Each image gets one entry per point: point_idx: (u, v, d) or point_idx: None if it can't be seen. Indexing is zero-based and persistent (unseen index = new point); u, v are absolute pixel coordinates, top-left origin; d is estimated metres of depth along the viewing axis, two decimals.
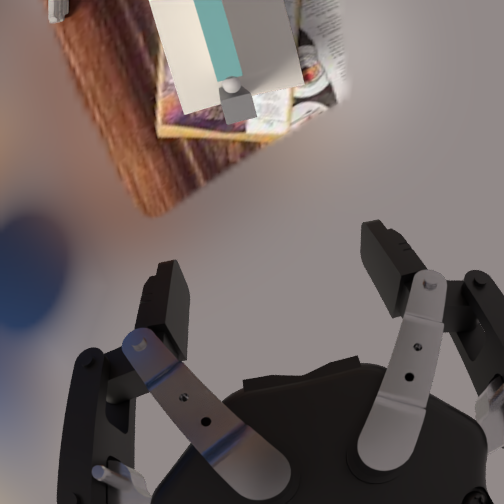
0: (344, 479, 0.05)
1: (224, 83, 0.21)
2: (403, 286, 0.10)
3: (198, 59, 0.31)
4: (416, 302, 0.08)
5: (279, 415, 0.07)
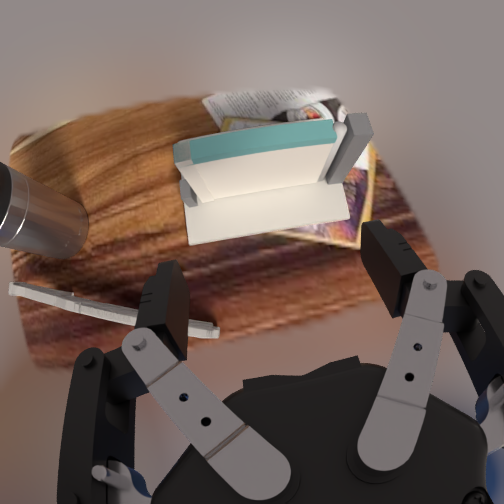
0: (344, 479, 0.05)
1: (338, 132, 0.27)
2: (403, 286, 0.10)
3: (298, 198, 0.40)
4: (416, 302, 0.08)
5: (279, 415, 0.07)
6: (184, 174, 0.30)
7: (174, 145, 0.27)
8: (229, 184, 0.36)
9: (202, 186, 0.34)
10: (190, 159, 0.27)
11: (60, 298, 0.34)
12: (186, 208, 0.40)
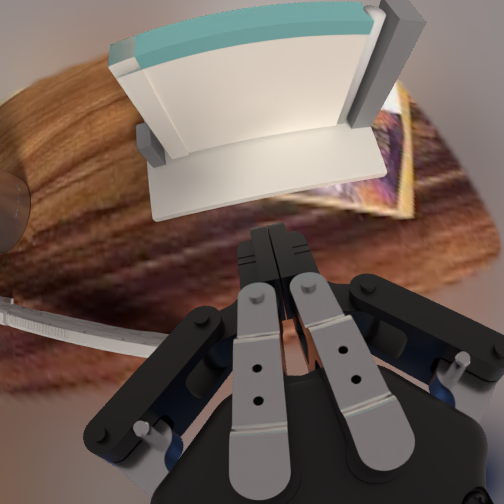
0: (344, 479, 0.05)
1: (374, 16, 0.13)
2: (288, 288, 0.11)
3: (312, 146, 0.26)
4: (308, 310, 0.09)
5: None
6: (130, 94, 0.16)
7: (112, 45, 0.14)
8: (207, 121, 0.22)
9: (164, 123, 0.21)
10: (133, 57, 0.13)
11: None
12: (150, 169, 0.27)
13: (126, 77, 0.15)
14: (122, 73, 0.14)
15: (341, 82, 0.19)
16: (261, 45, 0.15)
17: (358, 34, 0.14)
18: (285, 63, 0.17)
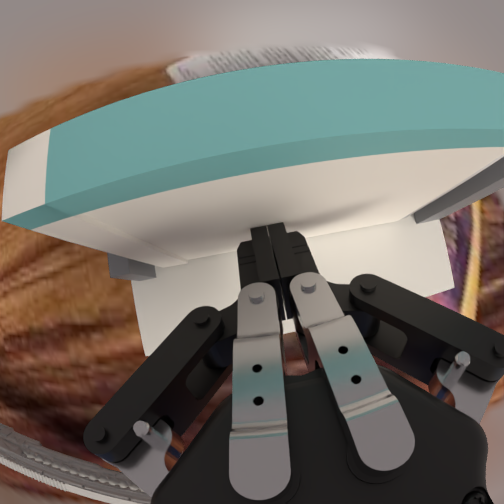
0: (344, 479, 0.05)
1: None
2: (287, 288, 0.11)
3: (365, 256, 0.19)
4: (308, 310, 0.09)
5: None
6: (70, 239, 0.09)
7: (11, 153, 0.06)
8: (215, 240, 0.14)
9: (145, 251, 0.13)
10: (44, 203, 0.06)
11: None
12: (135, 282, 0.19)
13: (49, 226, 0.07)
14: (37, 224, 0.07)
15: (436, 190, 0.12)
16: (342, 159, 0.07)
17: None
18: (371, 179, 0.09)
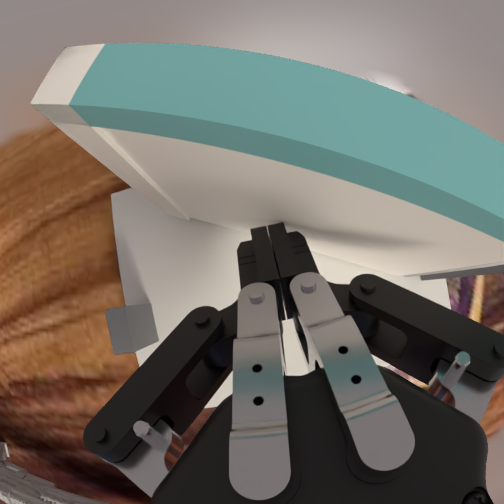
0: (344, 479, 0.05)
1: None
2: (288, 288, 0.11)
3: None
4: (308, 310, 0.09)
5: None
6: (84, 146, 0.09)
7: (65, 51, 0.06)
8: (217, 209, 0.15)
9: (150, 189, 0.13)
10: (68, 104, 0.06)
11: None
12: None
13: (68, 126, 0.07)
14: (58, 120, 0.07)
15: (442, 263, 0.11)
16: (348, 183, 0.07)
17: None
18: (376, 219, 0.09)
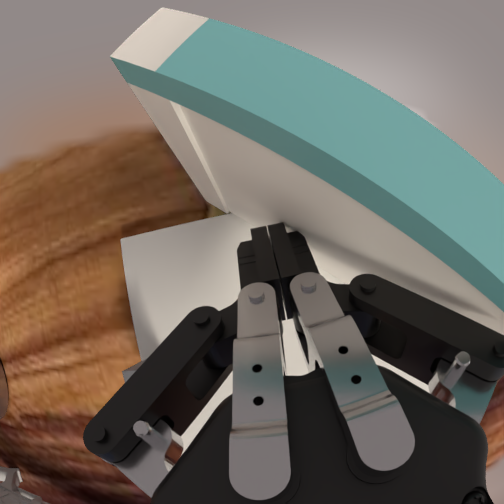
0: (344, 479, 0.05)
1: None
2: (288, 288, 0.11)
3: None
4: (308, 310, 0.09)
5: None
6: (152, 116, 0.09)
7: (161, 12, 0.06)
8: (263, 215, 0.14)
9: (202, 176, 0.13)
10: (154, 70, 0.06)
11: None
12: None
13: (143, 92, 0.07)
14: (135, 82, 0.07)
15: None
16: (415, 242, 0.07)
17: None
18: (422, 278, 0.09)
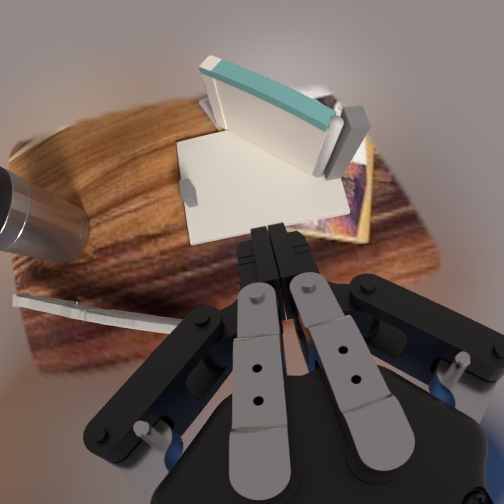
0: (344, 479, 0.05)
1: (331, 123, 0.27)
2: (288, 288, 0.11)
3: (298, 195, 0.40)
4: (308, 310, 0.09)
5: None
6: (205, 83, 0.31)
7: (210, 56, 0.29)
8: (238, 120, 0.37)
9: (217, 106, 0.36)
10: (210, 70, 0.28)
11: (65, 307, 0.34)
12: (186, 208, 0.40)
13: (205, 76, 0.30)
14: (204, 73, 0.29)
15: (312, 150, 0.33)
16: (268, 103, 0.29)
17: (319, 128, 0.28)
18: (280, 119, 0.31)
